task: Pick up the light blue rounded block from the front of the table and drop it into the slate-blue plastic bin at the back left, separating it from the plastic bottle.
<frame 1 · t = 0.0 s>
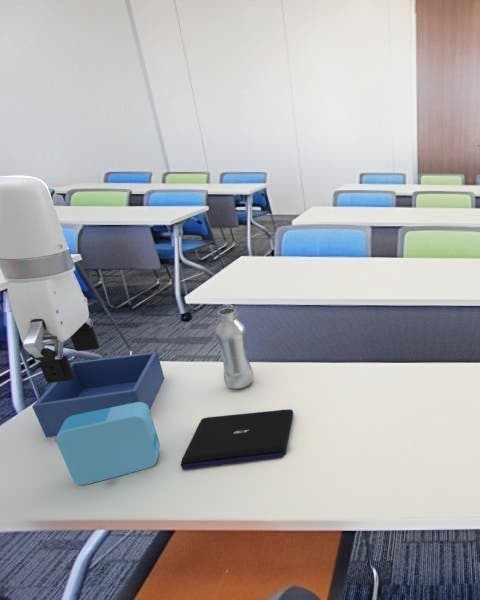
hand: (75, 363, 65), 22 cm above the table, tool pointing down, fingers open, 9 cm apart
laptop: (242, 440, 81), on the table
blue bin: (111, 404, 89), on the table
light blue rounded block: (121, 468, 74), on the table
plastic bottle: (240, 384, 99), on the table
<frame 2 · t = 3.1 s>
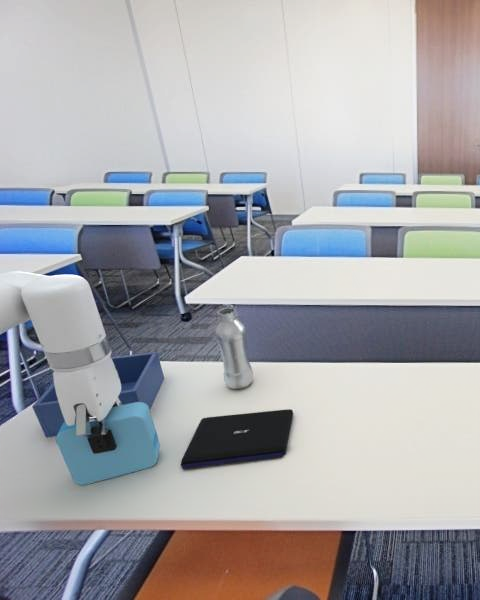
hand: (111, 438, 71), 7 cm above the table, tool pointing down, fingers closed on light blue rounded block, 4 cm apart
light blue rounded block: (121, 468, 74), on the table, touching gripper
everything else where it was.
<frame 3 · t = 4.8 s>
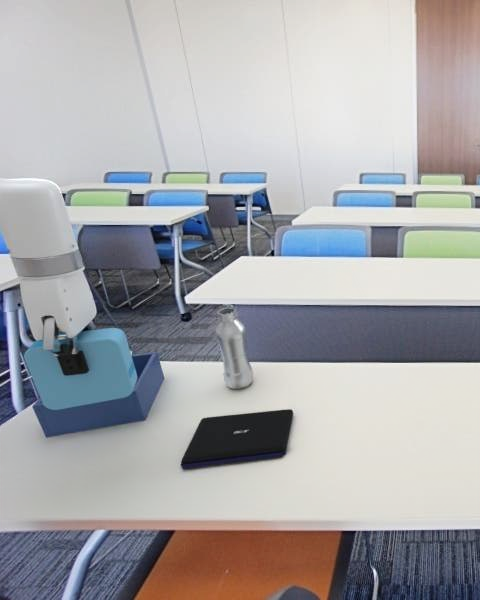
hand: (84, 363, 68), 21 cm above the table, tool pointing down, fingers closed on light blue rounded block, 4 cm apart
light blue rounded block: (95, 397, 71), point 14 cm above the table, touching gripper
everything else where it was.
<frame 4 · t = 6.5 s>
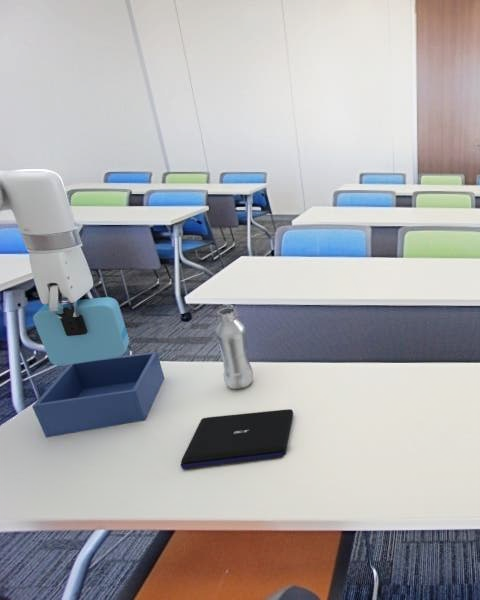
hand: (83, 327, 80), 20 cm above the table, tool pointing down, fingers closed on light blue rounded block, 4 cm apart
light blue rounded block: (94, 357, 83), point 13 cm above the table, touching gripper
everything else where it was.
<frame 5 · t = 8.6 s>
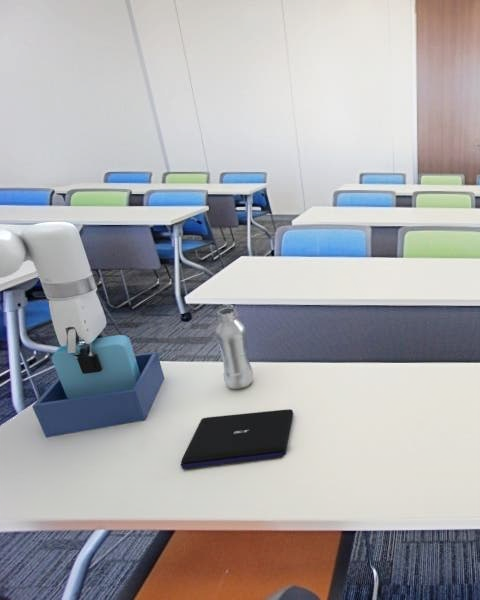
hand: (97, 364, 85), 11 cm above the table, tool pointing down, fingers closed on light blue rounded block, 4 cm apart
light blue rounded block: (107, 391, 88), point 4 cm above the table, touching gripper
everything else where it was.
when the fingers open (7 cm above the table, at t = 9.9 s): light blue rounded block stays where it is, resting on blue bin.
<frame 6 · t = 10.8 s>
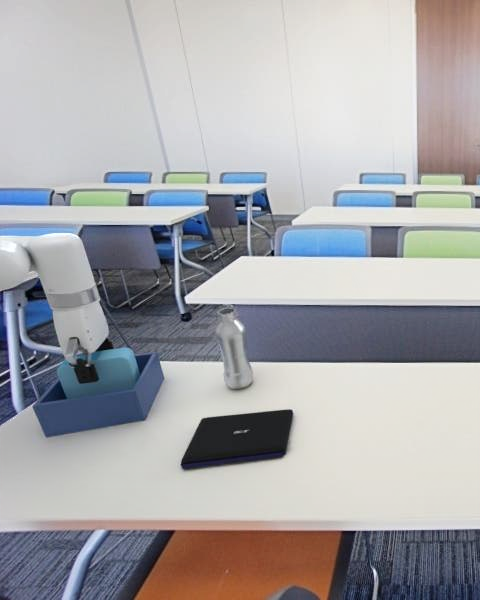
hand: (98, 369, 86), 9 cm above the table, tool pointing down, fingers open, 9 cm apart
light blue rounded block: (111, 402, 89), resting on blue bin
everything else where it was.
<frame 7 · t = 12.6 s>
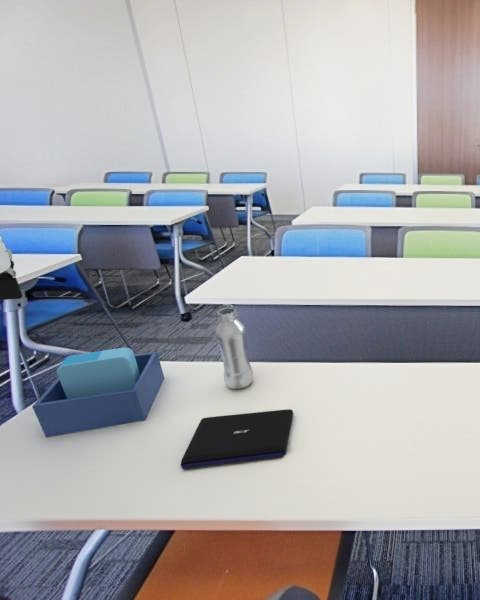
nothing on the table moved.
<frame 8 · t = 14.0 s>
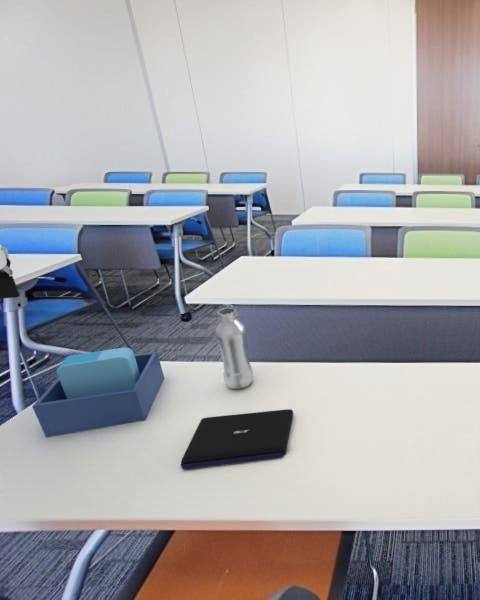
nothing on the table moved.
at the end: light blue rounded block inside the target area in the blue bin (0.0 cm from its centre), point 0.4 cm above the blue bin's base; the gripper is holding nothing; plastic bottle moved 0.2 cm from its start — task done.
